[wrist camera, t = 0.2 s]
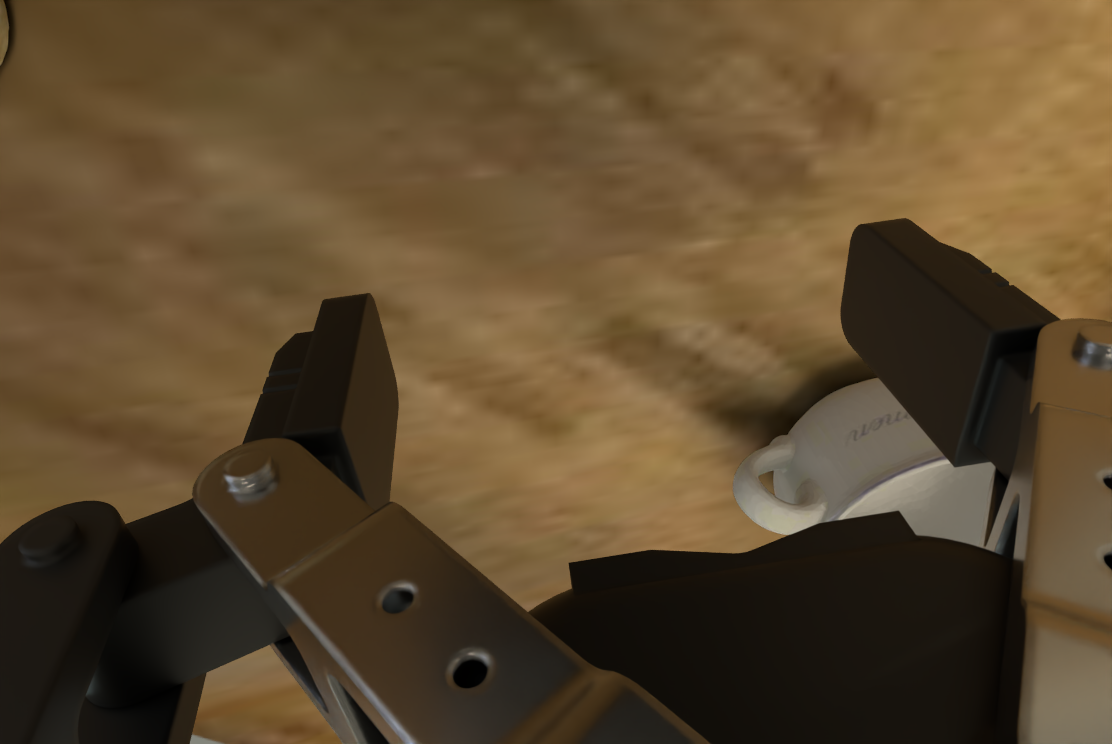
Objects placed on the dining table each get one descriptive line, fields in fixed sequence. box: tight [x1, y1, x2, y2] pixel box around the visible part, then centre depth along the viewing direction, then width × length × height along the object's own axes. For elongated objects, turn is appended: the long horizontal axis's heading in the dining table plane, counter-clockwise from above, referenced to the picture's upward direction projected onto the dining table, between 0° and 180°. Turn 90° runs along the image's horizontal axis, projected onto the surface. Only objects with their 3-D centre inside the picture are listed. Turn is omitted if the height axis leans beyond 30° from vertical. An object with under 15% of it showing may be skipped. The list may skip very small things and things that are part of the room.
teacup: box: [733, 378, 995, 547], centre depth 34 cm, size 14×11×8 cm
